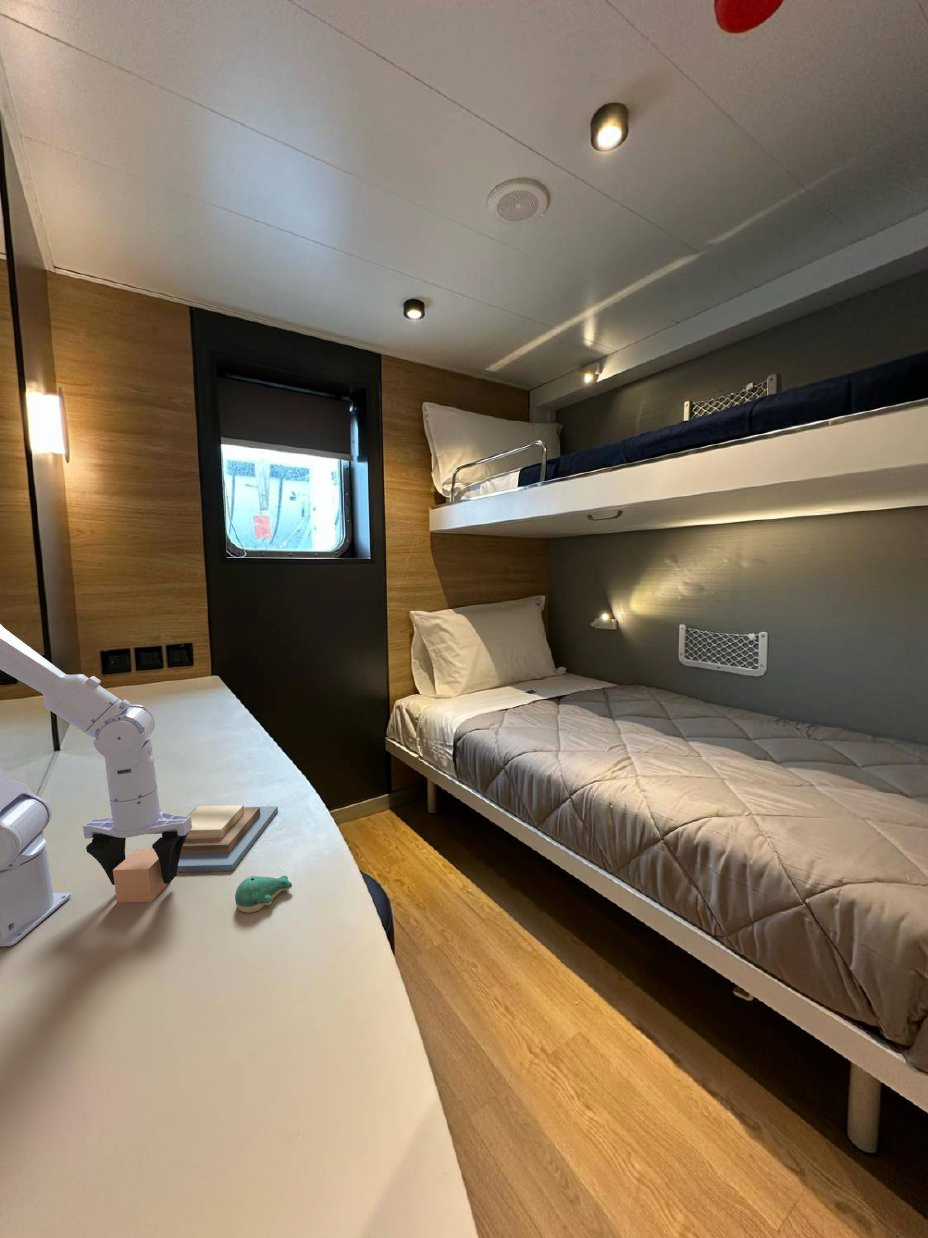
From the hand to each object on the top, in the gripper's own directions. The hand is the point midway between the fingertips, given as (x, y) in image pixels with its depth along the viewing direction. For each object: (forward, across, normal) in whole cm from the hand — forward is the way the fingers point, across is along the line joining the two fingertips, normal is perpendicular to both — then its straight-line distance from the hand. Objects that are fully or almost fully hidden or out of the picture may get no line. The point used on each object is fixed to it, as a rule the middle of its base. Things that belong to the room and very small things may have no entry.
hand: (144, 880), depth 72 cm
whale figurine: (+2, -19, +2) cm, 19 cm away
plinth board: (+2, -3, -13) cm, 13 cm away
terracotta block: (+2, 0, 0) cm, 2 cm away
